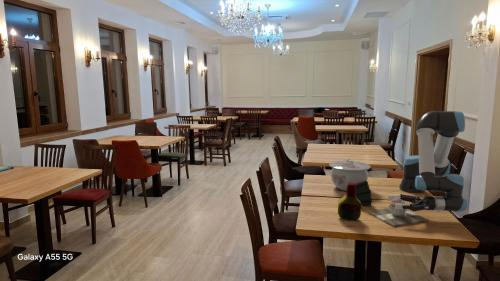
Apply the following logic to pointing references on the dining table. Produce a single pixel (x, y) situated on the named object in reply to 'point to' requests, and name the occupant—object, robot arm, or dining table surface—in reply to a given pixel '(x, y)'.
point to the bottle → (349, 204)
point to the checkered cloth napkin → (397, 217)
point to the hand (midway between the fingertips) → (391, 201)
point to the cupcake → (397, 211)
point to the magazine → (363, 193)
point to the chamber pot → (348, 173)
